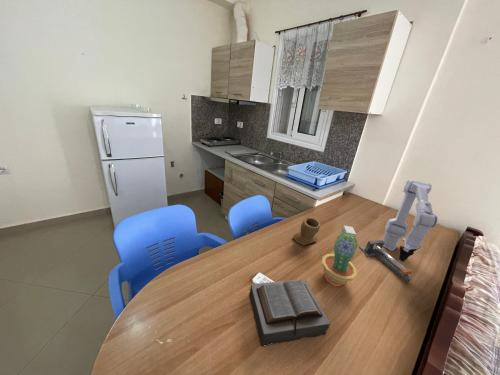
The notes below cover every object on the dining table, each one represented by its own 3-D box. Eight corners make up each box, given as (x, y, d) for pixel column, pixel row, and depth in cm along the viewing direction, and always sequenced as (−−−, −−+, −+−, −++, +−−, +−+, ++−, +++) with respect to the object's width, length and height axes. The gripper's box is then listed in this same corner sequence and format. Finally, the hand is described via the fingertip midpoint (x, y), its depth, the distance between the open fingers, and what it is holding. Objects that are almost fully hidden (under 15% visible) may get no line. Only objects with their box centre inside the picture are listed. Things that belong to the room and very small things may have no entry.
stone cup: (304, 250, 111) (311, 227, 105) (290, 237, 120) (295, 216, 114) (322, 243, 119) (329, 222, 113) (307, 232, 128) (313, 211, 122)
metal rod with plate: (378, 247, 117) (380, 244, 116) (411, 274, 100) (413, 270, 99) (370, 248, 116) (372, 244, 115) (402, 275, 98) (404, 271, 97)
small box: (350, 249, 117) (356, 234, 113) (340, 247, 118) (346, 232, 114) (347, 241, 125) (353, 227, 121) (338, 239, 125) (343, 224, 121)
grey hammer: (374, 246, 123) (379, 236, 121) (416, 281, 100) (423, 271, 97) (358, 247, 120) (363, 238, 117) (398, 284, 97) (404, 273, 94)
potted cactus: (310, 269, 98) (325, 226, 89) (334, 263, 105) (349, 222, 95) (334, 296, 86) (353, 250, 76) (358, 287, 92) (379, 243, 82)
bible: (330, 351, 66) (340, 332, 62) (249, 347, 64) (254, 327, 60) (309, 290, 87) (315, 273, 84) (248, 285, 85) (251, 268, 82)
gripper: (411, 227, 102) (400, 248, 107) (401, 235, 94) (389, 257, 99) (428, 235, 97) (416, 257, 102) (419, 244, 89) (405, 267, 94)
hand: (404, 257), depth 100 cm, fingers open, 7 cm apart
